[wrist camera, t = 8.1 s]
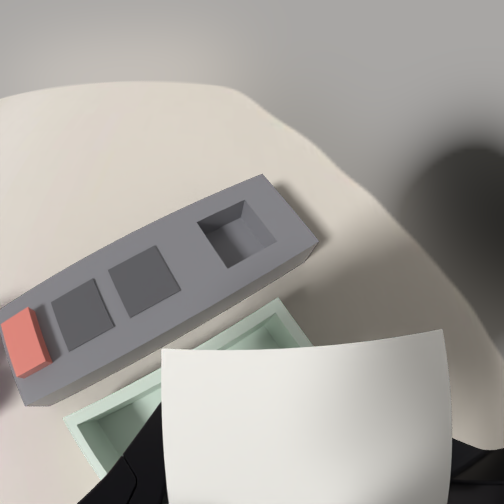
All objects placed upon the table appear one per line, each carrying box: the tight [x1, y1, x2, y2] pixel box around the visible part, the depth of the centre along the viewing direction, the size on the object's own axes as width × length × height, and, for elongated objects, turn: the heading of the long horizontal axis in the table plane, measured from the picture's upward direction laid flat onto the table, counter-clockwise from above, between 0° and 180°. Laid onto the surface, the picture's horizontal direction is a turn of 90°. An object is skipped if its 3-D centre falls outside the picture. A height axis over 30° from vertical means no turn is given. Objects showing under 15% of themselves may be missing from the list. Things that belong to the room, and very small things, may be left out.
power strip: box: [0, 174, 319, 406], centre depth 15 cm, size 20×6×4 cm, turn 125°
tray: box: [63, 297, 314, 480], centre depth 12 cm, size 13×13×4 cm
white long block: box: [161, 329, 452, 504], centre depth 8 cm, size 4×4×11 cm
